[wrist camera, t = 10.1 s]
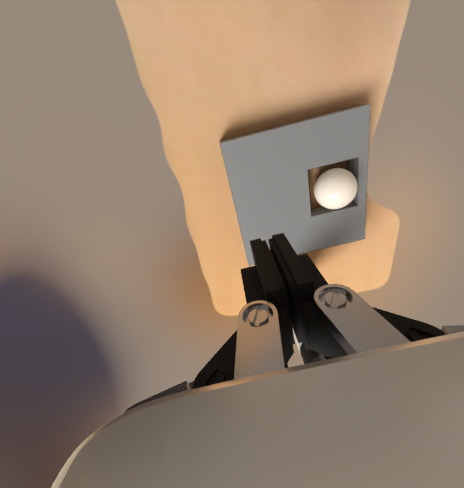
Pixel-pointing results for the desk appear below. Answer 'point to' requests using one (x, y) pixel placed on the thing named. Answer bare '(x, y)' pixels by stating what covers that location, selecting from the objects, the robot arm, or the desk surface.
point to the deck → (298, 180)
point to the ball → (335, 188)
